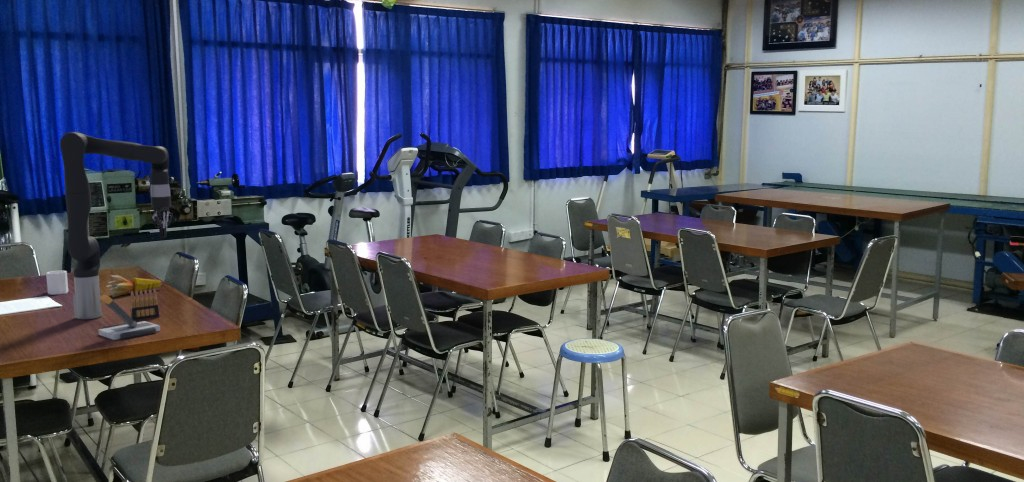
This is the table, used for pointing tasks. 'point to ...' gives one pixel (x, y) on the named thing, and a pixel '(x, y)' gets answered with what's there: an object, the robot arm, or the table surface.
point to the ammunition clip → (144, 305)
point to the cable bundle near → (138, 333)
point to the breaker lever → (118, 310)
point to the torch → (131, 285)
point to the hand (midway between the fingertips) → (163, 237)
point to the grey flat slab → (125, 329)
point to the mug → (57, 282)
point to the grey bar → (115, 325)
